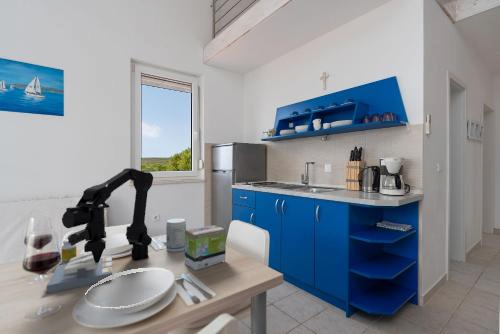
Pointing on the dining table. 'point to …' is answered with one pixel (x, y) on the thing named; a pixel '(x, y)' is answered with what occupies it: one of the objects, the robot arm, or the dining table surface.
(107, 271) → the switch panel
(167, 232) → the supplement tub
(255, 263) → the dining table surface
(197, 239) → the tea box
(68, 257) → the supplement bottle
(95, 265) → the rocker
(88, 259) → the rocker
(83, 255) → the rocker
